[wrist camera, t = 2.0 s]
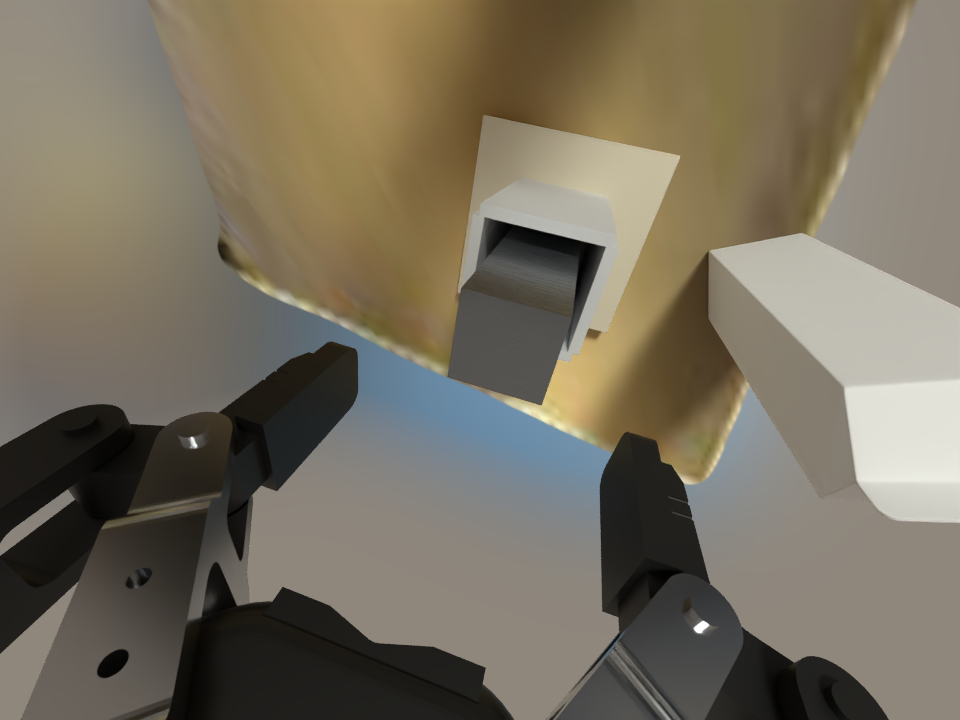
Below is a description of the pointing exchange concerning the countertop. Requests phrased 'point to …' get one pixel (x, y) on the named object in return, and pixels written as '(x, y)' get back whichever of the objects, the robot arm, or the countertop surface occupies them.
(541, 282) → the steel post
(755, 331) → the milk
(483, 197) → the sleeve stand
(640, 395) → the countertop surface
